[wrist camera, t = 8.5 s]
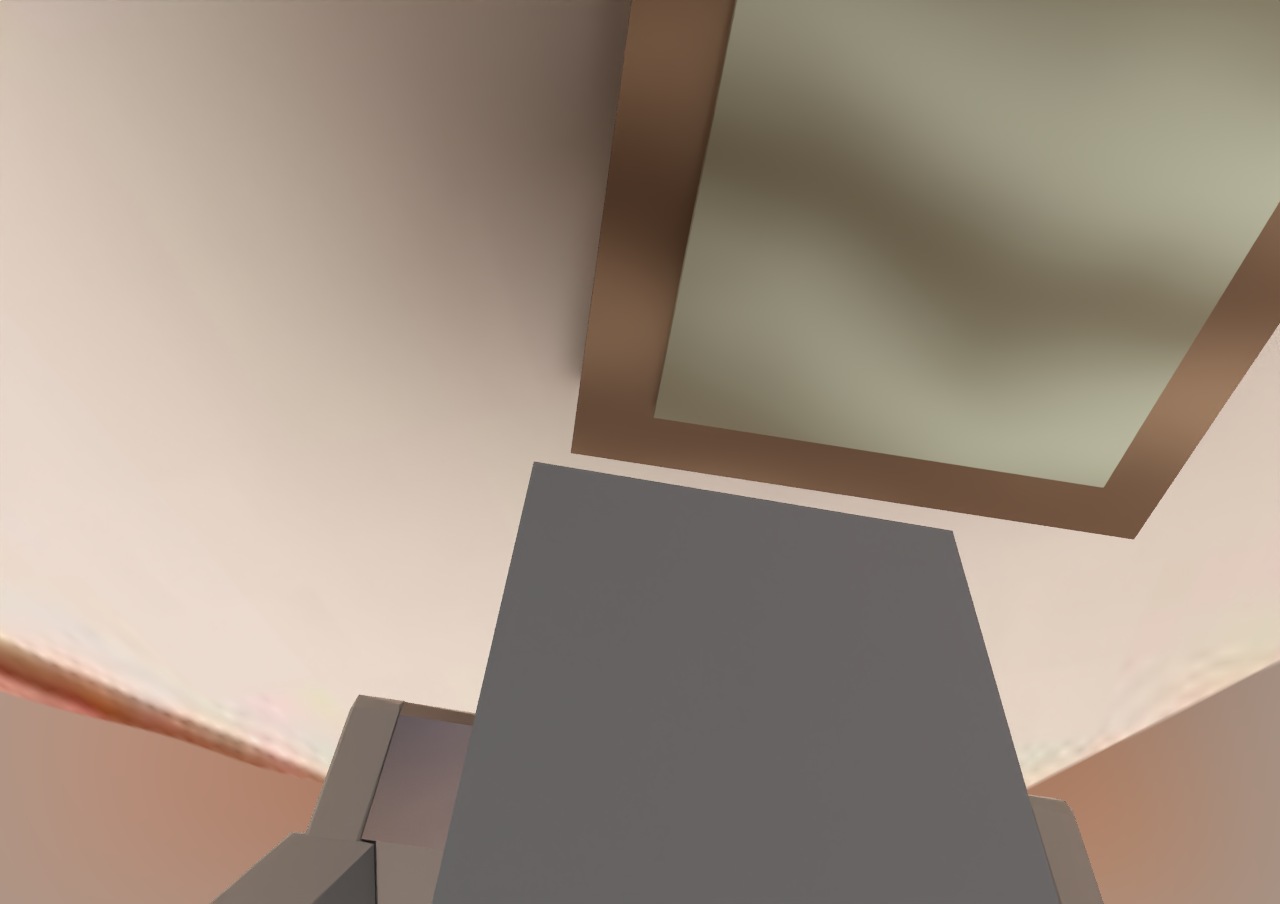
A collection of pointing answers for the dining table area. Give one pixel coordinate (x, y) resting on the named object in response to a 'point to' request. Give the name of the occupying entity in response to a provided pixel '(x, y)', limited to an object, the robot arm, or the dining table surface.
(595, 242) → the dining table surface
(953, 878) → the slate block
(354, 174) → the dining table surface
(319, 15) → the dining table surface
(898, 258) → the walnut stand
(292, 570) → the dining table surface
